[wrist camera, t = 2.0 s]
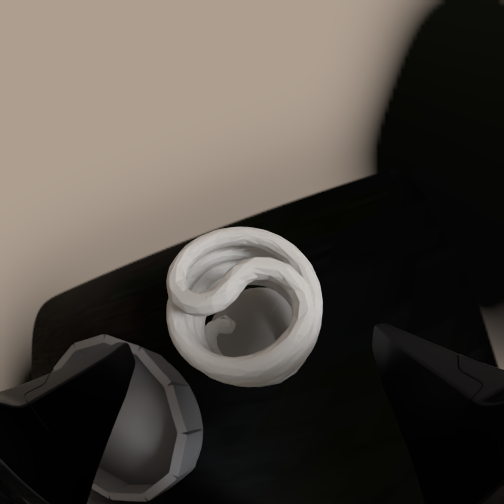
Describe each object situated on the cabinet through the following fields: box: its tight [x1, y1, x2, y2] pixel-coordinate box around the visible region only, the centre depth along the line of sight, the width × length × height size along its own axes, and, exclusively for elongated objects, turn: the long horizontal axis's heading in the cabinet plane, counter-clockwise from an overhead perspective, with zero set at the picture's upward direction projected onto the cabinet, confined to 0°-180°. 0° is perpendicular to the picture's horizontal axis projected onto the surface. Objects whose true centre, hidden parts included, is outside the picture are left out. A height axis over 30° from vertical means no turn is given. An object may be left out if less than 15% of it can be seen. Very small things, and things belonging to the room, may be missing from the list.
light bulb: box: [167, 227, 323, 387], centre depth 13 cm, size 6×6×12 cm
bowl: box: [52, 334, 203, 502], centre depth 15 cm, size 12×12×4 cm
